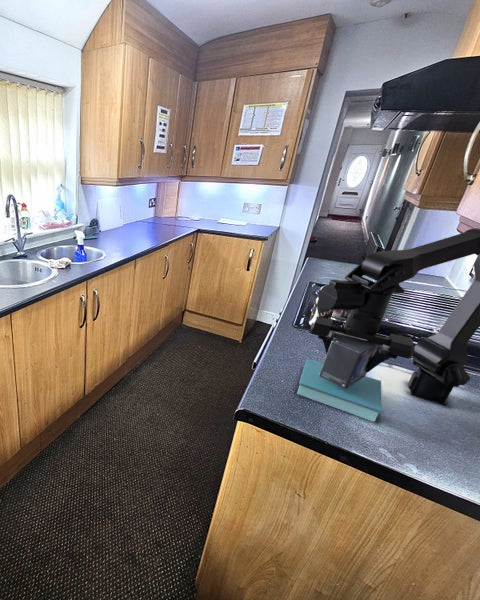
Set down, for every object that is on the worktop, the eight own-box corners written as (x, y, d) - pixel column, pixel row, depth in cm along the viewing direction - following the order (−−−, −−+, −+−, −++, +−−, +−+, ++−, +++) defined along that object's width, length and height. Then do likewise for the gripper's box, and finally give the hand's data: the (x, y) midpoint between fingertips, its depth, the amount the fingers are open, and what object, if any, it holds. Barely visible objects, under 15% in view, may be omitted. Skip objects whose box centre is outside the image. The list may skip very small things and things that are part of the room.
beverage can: (313, 329, 115) (323, 298, 110) (305, 322, 120) (314, 292, 115) (330, 330, 114) (341, 299, 109) (321, 323, 119) (331, 292, 114)
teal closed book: (375, 392, 84) (381, 380, 83) (376, 423, 75) (382, 411, 73) (303, 368, 94) (307, 358, 92) (295, 394, 84) (299, 382, 82)
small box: (347, 390, 77) (362, 353, 73) (317, 376, 82) (329, 340, 78) (367, 376, 82) (382, 340, 78) (338, 363, 87) (350, 329, 83)
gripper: (421, 307, 75) (395, 364, 81) (323, 289, 86) (307, 340, 92) (427, 325, 67) (398, 387, 73) (318, 302, 78) (300, 357, 84)
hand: (346, 365), depth 81 cm, fingers closed on small box, 7 cm apart
